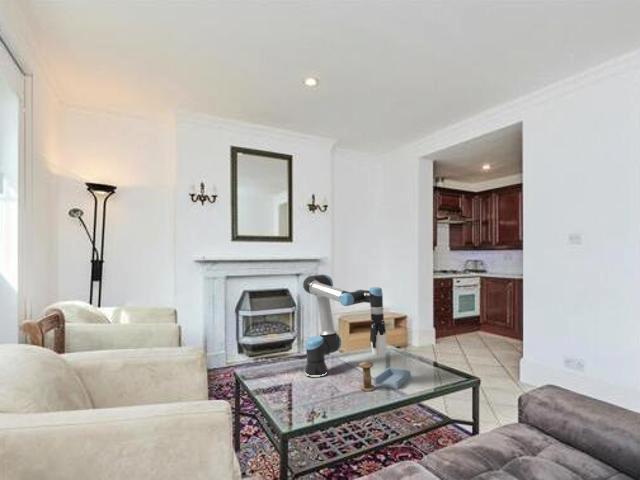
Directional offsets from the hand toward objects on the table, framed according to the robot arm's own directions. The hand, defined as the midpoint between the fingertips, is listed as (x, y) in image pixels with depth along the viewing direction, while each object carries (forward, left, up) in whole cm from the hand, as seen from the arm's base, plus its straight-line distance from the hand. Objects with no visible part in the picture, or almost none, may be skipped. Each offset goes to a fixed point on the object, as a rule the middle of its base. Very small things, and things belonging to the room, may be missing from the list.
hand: (379, 350), depth 207 cm
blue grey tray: (+6, +5, -19) cm, 20 cm away
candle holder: (0, 0, -2) cm, 2 cm away
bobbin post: (-2, -12, -19) cm, 22 cm away
